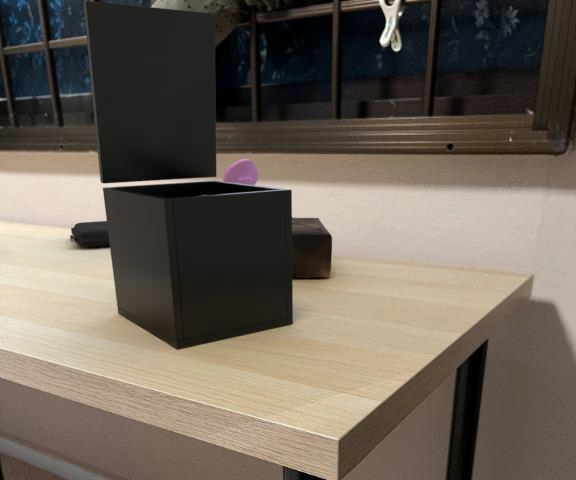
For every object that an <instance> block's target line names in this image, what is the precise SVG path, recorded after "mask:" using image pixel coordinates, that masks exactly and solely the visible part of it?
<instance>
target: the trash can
mask: <svg viewBox="0 0 576 480" xmlns="http://www.w3.org/2000/svg"><path fill="white" fill-rule="evenodd" d="M292 191H293V190H292V189H290V188H281V187H272V186H265V185H256V184H255V185H248V184H240V183H232V182H223V180H204V181H187V182H186V181H184V182H171V183H168V182H167V183H154V184H153V183H152V184H138V185H137V184H136V185H122V186H106V187H105V186H104V187H102V193H103V194H102V195H103V201H104V209H105V217H106V221H107V227H108V235H109V243H110V246H109V250H110V258H111V266H112V274H113V282H114V290H115V297H116V298H115V299H116V306H117V313H118V314H119V315H121V316H122V317H124V318H126V320H129V321H131V322H132V323H134V324H135V325H137V326H139V327H140V328H142V329H143V330H145V331H147V332H149V333H150V334H151V335H153V336H155V337H156V338H158V339H160V340H161V341H164V342H165V343H166V344H168V345H169V346H171V347H172V348H175V349H176V350H180V349H184V348H190V347H195V346H197V345H204V344H208V343H213V342H217V341H221V340H226V339H230V338H236V337H239V336H244V335H248V334H253V333H257V332H263V331H267V330H271V329H275V328H280V327H281V328H282V327H284V326H288V325H293V324H294V319H293V318H294V317H293V316H294V310H293V309H294V308H293V307H294V303H293V302H294V300H293V299H294V298H293V295H294V294H293V293H294V292H293V291H294V289H293V278H292V217H293V201H292V200H293V193H292ZM202 195H204V196H202Z"/></svg>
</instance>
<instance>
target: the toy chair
mask: <svg viewBox="0 0 576 480" xmlns="http://www.w3.org/2000/svg"><path fill="white" fill-rule="evenodd" d="M258 180H259V169H258V167H257V165H256V163H255V162H254V161H253V160H251V159H248V158H242V159H238V160H236V161H235V162H233V163H231V164H229V166H227V168H225V170H224V172H223V175H222V181H223V182H232V183H240V184H248V185H256V184H257V182H258Z"/></svg>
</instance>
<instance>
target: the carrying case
mask: <svg viewBox="0 0 576 480" xmlns="http://www.w3.org/2000/svg"><path fill="white" fill-rule="evenodd" d="M70 232H71V235H69V239H70V241H71V242H75V243H77V244H81V245H82V246H83V247H84V248H99V247H102V248H103V247H110V243H109V235H108V227H107V220H101V221H99V220H98V221H86V222H85V221H84V222H77V223H75V224H74V226H73V227H71V229H70Z"/></svg>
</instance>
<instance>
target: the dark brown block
mask: <svg viewBox="0 0 576 480" xmlns="http://www.w3.org/2000/svg"><path fill="white" fill-rule="evenodd" d="M332 254H333V236H332V234H331V232H329V230H328V229H327V228H326V227H325V225H324V224H323V223H322V222H321V220H320V218H319V217H293V216H292V279H293V278H299V279H300V278H304V279H305V278H306V279H308V278H311V279H312V278H330V276H331V273H332Z"/></svg>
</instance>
